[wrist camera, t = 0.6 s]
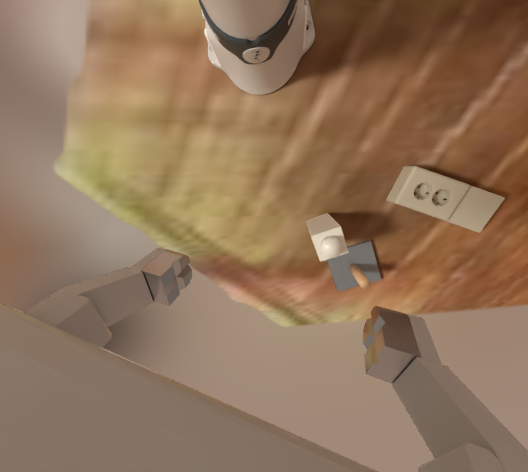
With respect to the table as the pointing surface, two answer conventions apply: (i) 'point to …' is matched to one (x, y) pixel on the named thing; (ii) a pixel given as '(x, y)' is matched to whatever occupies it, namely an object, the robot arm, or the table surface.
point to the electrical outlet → (444, 198)
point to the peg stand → (355, 267)
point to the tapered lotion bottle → (327, 237)
